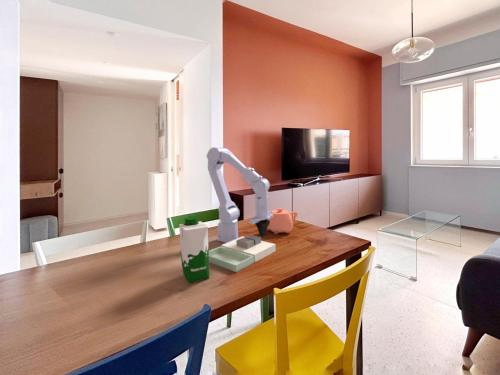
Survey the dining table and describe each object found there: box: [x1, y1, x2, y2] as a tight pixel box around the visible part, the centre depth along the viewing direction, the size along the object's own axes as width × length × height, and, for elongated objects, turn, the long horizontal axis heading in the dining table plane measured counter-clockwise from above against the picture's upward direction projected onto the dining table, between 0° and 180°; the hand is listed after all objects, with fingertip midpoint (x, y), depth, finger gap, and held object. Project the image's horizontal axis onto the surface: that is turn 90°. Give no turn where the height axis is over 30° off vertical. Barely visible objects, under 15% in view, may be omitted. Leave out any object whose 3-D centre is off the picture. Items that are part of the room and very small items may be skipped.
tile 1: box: [236, 238, 254, 249], centre depth 111 cm, size 6×4×2 cm, turn 51°
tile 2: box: [243, 234, 262, 245], centre depth 115 cm, size 6×4×2 cm, turn 51°
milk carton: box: [178, 216, 210, 284], centre depth 90 cm, size 9×9×20 cm
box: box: [208, 246, 255, 273], centre depth 103 cm, size 18×10×3 cm, turn 51°
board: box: [221, 236, 277, 263], centre depth 113 cm, size 18×14×3 cm
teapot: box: [267, 207, 299, 235], centre depth 139 cm, size 13×20×12 cm, turn 97°
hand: (262, 236), depth 120 cm, fingers closed
